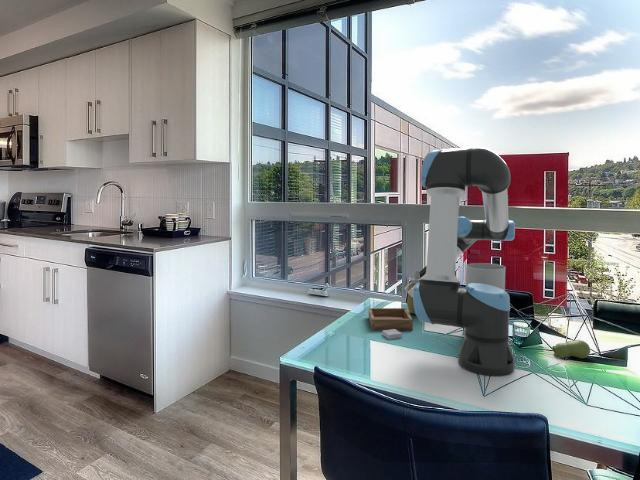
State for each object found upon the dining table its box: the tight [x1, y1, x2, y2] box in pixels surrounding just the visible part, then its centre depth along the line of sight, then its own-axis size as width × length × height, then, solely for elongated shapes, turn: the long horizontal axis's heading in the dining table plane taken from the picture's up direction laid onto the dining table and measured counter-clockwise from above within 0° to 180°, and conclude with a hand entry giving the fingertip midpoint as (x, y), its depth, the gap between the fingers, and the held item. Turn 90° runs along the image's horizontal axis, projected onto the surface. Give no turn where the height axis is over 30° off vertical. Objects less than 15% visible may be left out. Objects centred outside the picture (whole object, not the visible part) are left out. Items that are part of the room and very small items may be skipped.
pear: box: [551, 339, 591, 359], centre depth 123 cm, size 6×5×10 cm
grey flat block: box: [381, 329, 403, 340], centre depth 143 cm, size 5×5×2 cm
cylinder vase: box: [465, 262, 507, 291], centre depth 140 cm, size 12×12×25 cm
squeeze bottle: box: [406, 269, 421, 315], centre depth 168 cm, size 8×8×18 cm
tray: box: [368, 307, 414, 331], centre depth 156 cm, size 15×15×4 cm
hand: (408, 292), depth 168 cm, fingers closed on squeeze bottle, 6 cm apart
